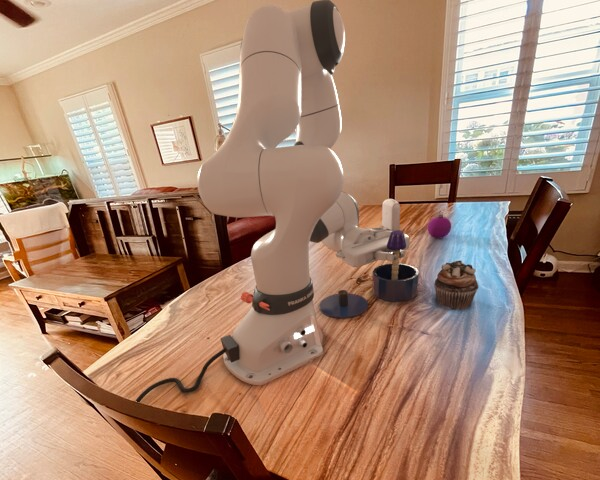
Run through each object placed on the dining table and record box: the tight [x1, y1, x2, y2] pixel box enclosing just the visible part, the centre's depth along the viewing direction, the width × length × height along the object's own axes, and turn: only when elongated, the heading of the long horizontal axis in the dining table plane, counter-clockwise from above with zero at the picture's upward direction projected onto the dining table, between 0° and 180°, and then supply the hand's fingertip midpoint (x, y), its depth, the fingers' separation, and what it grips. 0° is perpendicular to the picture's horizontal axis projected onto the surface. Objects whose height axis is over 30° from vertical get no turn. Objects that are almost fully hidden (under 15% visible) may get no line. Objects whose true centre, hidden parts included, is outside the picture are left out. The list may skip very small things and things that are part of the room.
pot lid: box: [318, 289, 369, 320], centre depth 79 cm, size 12×12×5 cm
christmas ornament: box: [427, 211, 452, 239], centre depth 118 cm, size 8×8×10 cm
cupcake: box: [434, 260, 480, 311], centre depth 75 cm, size 10×10×10 cm
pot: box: [371, 263, 420, 303], centre depth 83 cm, size 11×11×6 cm
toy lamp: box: [387, 229, 406, 280], centre depth 80 cm, size 5×5×17 cm
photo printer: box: [381, 198, 401, 231], centre depth 135 cm, size 10×4×12 cm, turn 13°
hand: (398, 256), depth 78 cm, fingers closed on toy lamp
